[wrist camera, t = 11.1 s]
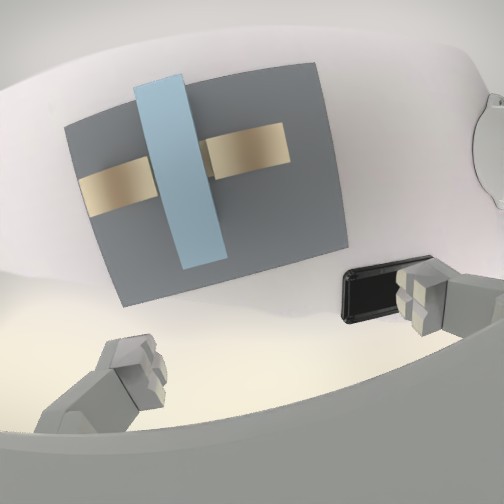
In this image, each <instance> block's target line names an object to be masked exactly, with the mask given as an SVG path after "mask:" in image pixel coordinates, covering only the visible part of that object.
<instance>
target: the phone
mask: <svg viewBox="0 0 504 504" xmlns="http://www.w3.org/2000/svg"><path fill="white" fill-rule="evenodd" d="M431 258H434V257H432V256H430V255H428V256H423V257H417V258H412V259H407V260H401V261H396V262H390V263H385V264H379V265H374V266H368V267H362V268H357V269H351V270H348V271H347V272H346V273H345V274H344V276H343V291H342V315H341V314H340V315H341V318H342V319H343V321H344V322H345V323H346V324H353V323H357V322H362V321H366V320H370V319H375V318H379V317H383V316H387V315H391V314H395V313H399V310H398V307H397V303H396V294H397V292H398V290H399V288H400V286H399V285H398V284H397V283H396V275H397V272H398V270H401V269H404V268H407V267H409V266H412V265H415V264H418V263H421V262H423V261H426V260H429V259H431Z"/></svg>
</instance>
